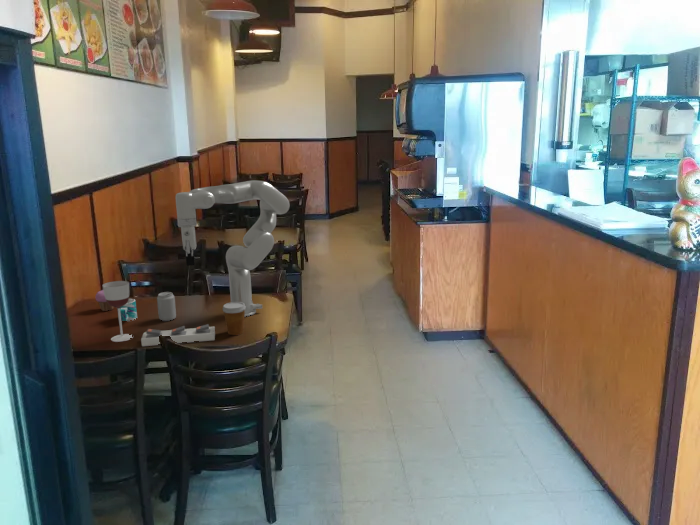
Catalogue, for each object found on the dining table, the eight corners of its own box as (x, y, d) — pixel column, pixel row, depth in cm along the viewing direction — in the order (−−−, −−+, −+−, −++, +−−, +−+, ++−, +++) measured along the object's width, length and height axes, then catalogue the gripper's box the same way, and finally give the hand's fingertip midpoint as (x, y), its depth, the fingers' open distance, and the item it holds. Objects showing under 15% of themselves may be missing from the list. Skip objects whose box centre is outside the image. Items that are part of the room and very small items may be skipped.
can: (171, 322, 254) (168, 296, 251) (155, 321, 255) (153, 295, 252) (179, 316, 261) (177, 291, 258) (164, 315, 262) (161, 290, 259)
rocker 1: (160, 332, 231) (160, 330, 231) (159, 335, 228) (159, 332, 228) (147, 331, 230) (147, 328, 230) (146, 333, 227) (146, 331, 227)
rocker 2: (209, 326, 234) (208, 323, 234) (208, 328, 231) (208, 326, 231) (197, 329, 234) (196, 327, 233) (196, 332, 231) (195, 329, 230)
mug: (139, 315, 264) (137, 298, 262) (133, 324, 252) (131, 306, 250) (120, 316, 263) (118, 299, 261) (113, 325, 251) (111, 307, 249)
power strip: (215, 333, 239) (214, 326, 238) (214, 340, 231) (213, 332, 231) (144, 339, 234) (144, 332, 233) (141, 346, 226) (141, 339, 225)
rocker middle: (185, 327, 232) (184, 325, 232) (184, 330, 229) (183, 327, 229) (173, 331, 232) (172, 329, 232) (172, 334, 229) (171, 332, 229)
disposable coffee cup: (226, 337, 233) (224, 309, 231) (222, 330, 242) (220, 303, 239) (249, 334, 237) (248, 306, 234) (244, 327, 246) (242, 300, 243)
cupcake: (118, 310, 271) (116, 290, 269) (99, 314, 266) (96, 293, 264) (114, 305, 278) (112, 286, 276) (95, 309, 274) (92, 289, 271)
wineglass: (113, 334, 240) (106, 281, 234) (137, 333, 241) (131, 280, 235) (106, 342, 231) (99, 287, 226) (131, 341, 232) (125, 286, 226)
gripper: (195, 224, 232) (198, 268, 236) (197, 219, 246) (200, 260, 250) (176, 225, 230) (180, 269, 235) (179, 219, 245) (183, 261, 249)
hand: (190, 264), depth 242 cm, fingers closed
